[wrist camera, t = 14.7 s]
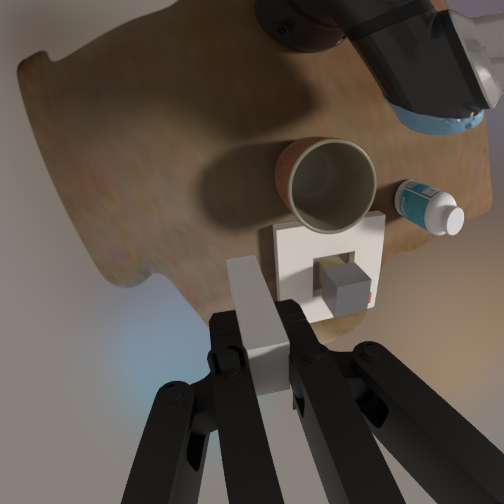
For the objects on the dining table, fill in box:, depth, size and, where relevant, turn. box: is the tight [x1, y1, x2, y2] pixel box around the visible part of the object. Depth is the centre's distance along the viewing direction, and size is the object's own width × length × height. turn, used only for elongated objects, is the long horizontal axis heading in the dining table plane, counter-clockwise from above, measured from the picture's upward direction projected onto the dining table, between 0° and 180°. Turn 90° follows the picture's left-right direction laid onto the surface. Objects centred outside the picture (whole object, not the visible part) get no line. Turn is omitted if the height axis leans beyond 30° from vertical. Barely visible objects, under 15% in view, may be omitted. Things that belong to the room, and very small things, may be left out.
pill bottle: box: [395, 180, 464, 235], centre depth 42 cm, size 8×7×14 cm
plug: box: [319, 258, 372, 318], centre depth 47 cm, size 6×6×10 cm
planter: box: [274, 137, 376, 234], centre depth 39 cm, size 12×12×11 cm
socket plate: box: [273, 211, 386, 323], centre depth 51 cm, size 20×20×3 cm
